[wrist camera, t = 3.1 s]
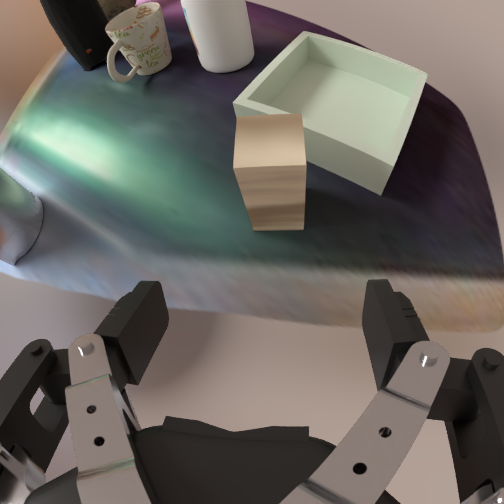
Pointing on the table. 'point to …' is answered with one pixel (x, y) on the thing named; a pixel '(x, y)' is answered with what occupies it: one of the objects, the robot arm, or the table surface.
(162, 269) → the table surface
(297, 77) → the bin
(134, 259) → the table surface
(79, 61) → the portable speaker
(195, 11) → the milk bottle
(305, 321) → the table surface
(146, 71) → the mug
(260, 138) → the birch block
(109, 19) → the decorative egg
